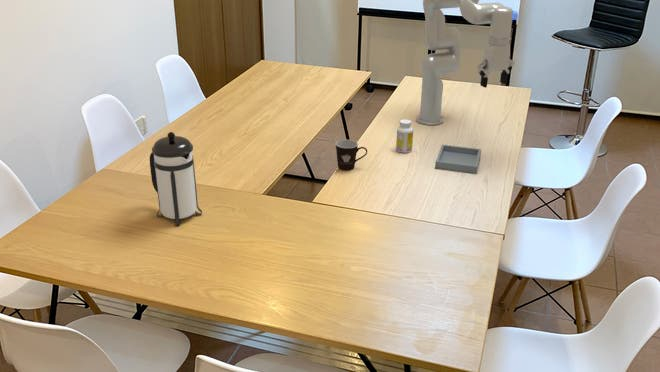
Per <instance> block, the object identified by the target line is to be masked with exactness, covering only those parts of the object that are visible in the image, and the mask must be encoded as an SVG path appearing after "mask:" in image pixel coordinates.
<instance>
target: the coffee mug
mask: <svg viewBox="0 0 660 372" xmlns="http://www.w3.org/2000/svg"><path fill="white" fill-rule="evenodd" d="M358 146H359V143H358V141H356V140H352V139H340V140H337V141H336V142H335V151H336V161H337V169H338V170H339V171H340V170H341V171H344V172H348V171H349V172H351V171H353V170H354V169H355V165H356V162H358V161H360V160H361V159H363V158H364V157H365V156H367V154H368V149H367V147H364V146H360V147H358ZM361 149H363V150H365V154H363V155H362V156H360V157H358V158H357V153H358V151H360V150H361Z"/></svg>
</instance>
